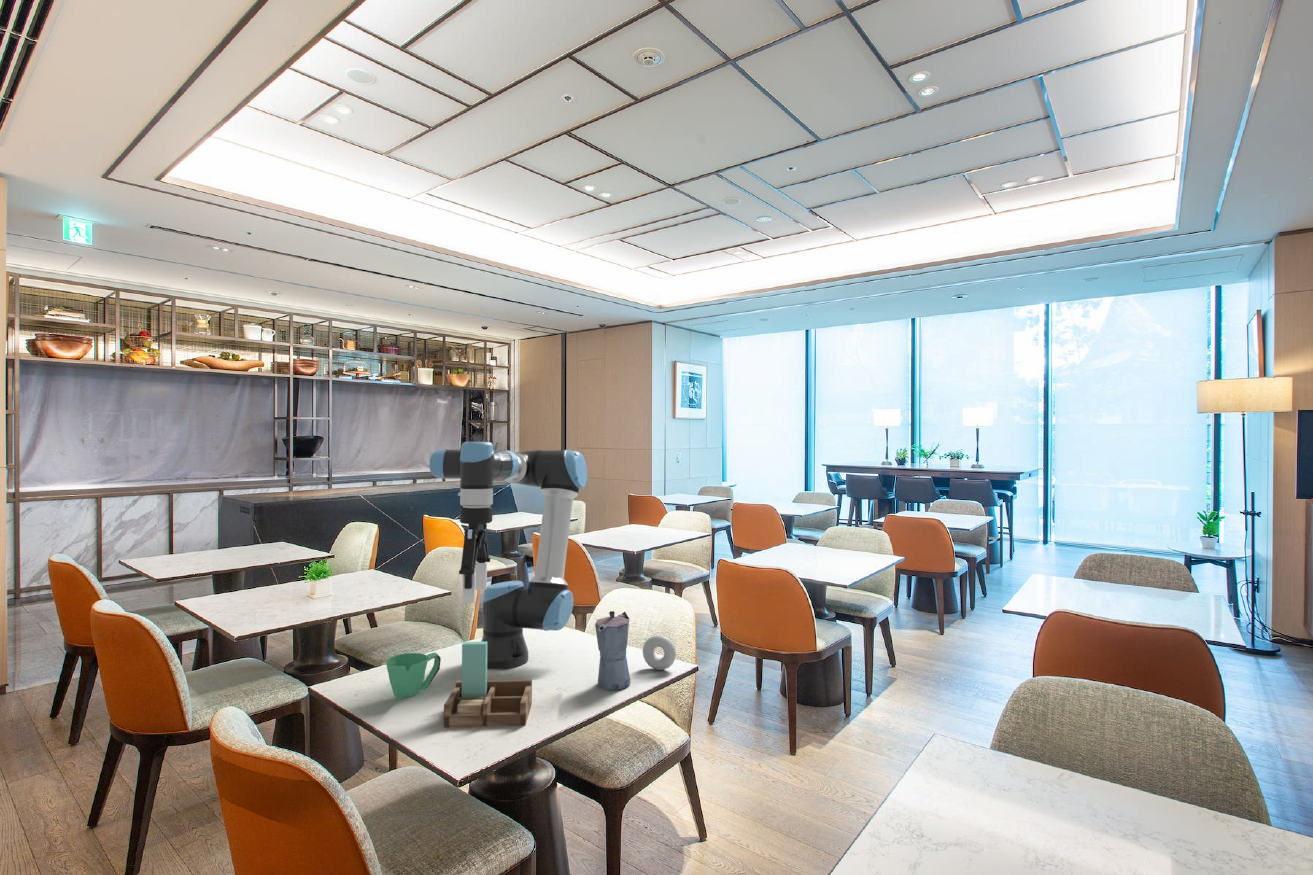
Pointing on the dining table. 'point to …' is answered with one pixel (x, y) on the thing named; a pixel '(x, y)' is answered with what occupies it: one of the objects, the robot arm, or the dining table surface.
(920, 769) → the dining table surface
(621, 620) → the moka pot
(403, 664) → the mug
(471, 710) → the offcut top
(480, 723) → the rack
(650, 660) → the donut
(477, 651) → the panel
